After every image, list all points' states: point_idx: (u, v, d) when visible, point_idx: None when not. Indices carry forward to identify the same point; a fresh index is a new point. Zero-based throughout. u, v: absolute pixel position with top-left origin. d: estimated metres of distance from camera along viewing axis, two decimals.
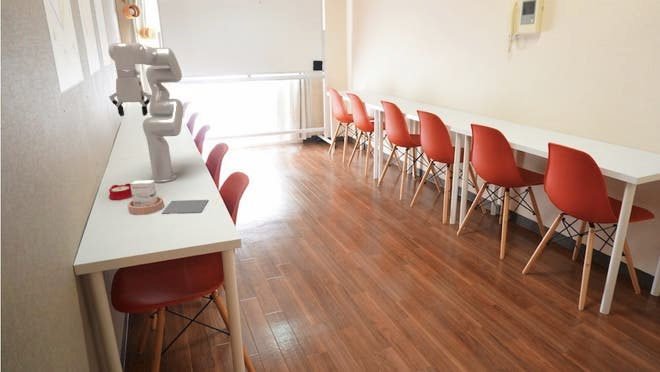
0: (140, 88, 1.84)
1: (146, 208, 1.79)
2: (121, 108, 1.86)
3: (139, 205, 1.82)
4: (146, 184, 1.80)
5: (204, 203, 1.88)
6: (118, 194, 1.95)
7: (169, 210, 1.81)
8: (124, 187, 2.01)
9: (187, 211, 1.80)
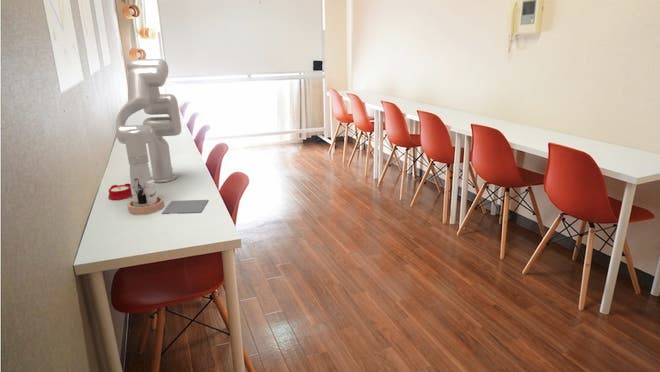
0: None
1: (146, 208, 1.79)
2: None
3: (139, 205, 1.82)
4: (146, 184, 1.80)
5: (204, 203, 1.88)
6: (118, 194, 1.95)
7: (169, 210, 1.81)
8: (124, 187, 2.01)
9: (187, 211, 1.80)
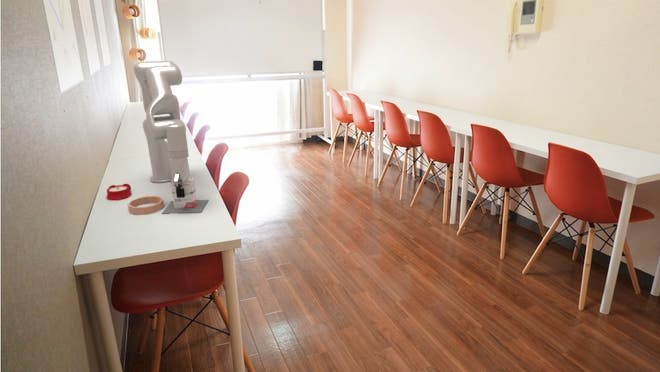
0: None
1: (146, 208, 1.79)
2: None
3: (179, 202, 1.83)
4: (187, 182, 1.81)
5: (204, 203, 1.88)
6: (116, 194, 1.95)
7: (169, 210, 1.81)
8: (122, 187, 2.01)
9: (187, 211, 1.80)
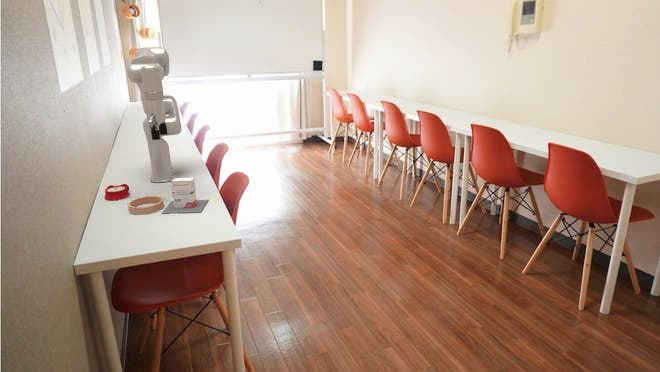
0: None
1: (146, 208, 1.79)
2: None
3: (179, 202, 1.83)
4: (187, 182, 1.81)
5: (204, 203, 1.88)
6: (114, 194, 1.95)
7: (169, 210, 1.81)
8: (120, 187, 2.01)
9: (187, 211, 1.80)
